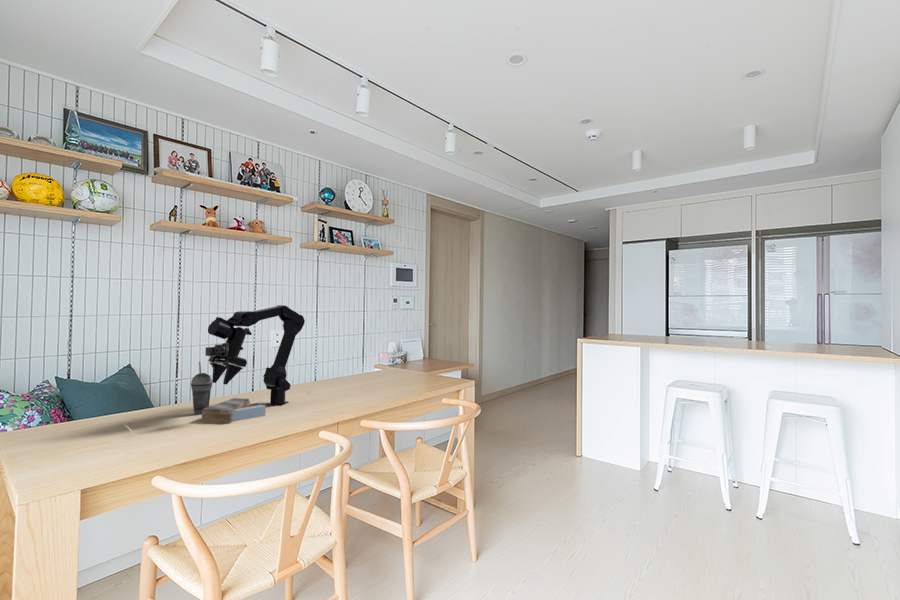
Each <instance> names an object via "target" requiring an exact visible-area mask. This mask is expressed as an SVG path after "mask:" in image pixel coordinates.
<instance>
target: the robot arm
mask: <svg viewBox="0 0 900 600" xmlns="http://www.w3.org/2000/svg"><path fill="white" fill-rule="evenodd" d="M274 317H279V319H280V320H281V321H282V322H283V325H282V327H283V328H282V329H283V335H282V338H281V340H280V341H281V342H280V345H279V347H278V349H277V353H276V356H275V358H274V361H273V364H272V365H271V366H270V367H266V368H265V373H264V375H263V376H262V377H263V383H264V385H265V387H266V390H270V398H269V399H270V400H269V401H270V402H269V403H267V404H266V405H267V406H275V407H282V406H284V405H286V404H288V403H290V402H289V401H286V392H287V391H290V390H291V386H292V384H291V383H290V382H289V381H287V376H288V375H287V370H286V367H287V364H288V360H289V356H290V354H291V351H292V348H293V345H294V342H295V339H296V336H297V335H298V334H299V333H300V332H301V331H302V329H303V327H304V326H305V322H306V319H305V318H304V316H303V315H302V314H300V313H298V312H297V311H295V310H293V309H291V308H289V307H288V306H287V305H285V304H284V305H283V304H280V305H276V306H271V307H267V308H263V309H257V310H252V311H251V310H247V311H246V310H244V311H239V310H238V311H235V312H234V313H233V315H232V316H231V317H229V318H228V319H224V318H222V317H219V316H217V317H216V318H215V319H214V320H212V322H211V323H210V324H209V325H208V328H207V332H208V335H211V336H214V337H217V338H219V339H223V340H225V342H224V343H221V344H214V346H209V347H207V346H206V347H205V357H207V356H208V357H209V358H208V363H209V365H210V366H211V367H212V378H211V379H212V383H213V384H216V383H217V382H218V381H219V379H220V378H221V376H223V374H224V372H225V374H224V378H223V381H222V383H223V385H224V386H225V385H228V384H229V383H230V382H231V381H232V380H233V378H234V377H236V376H237V374H238V373H239V372H241V370H243V369H244V368H246V366H247V364H248V360H247V359H246V358H243V357H240V356H239V355H240V352H241V351H243V350H244V347H243V343H244V341H245V339H246V336H252V334H253V333H252V332H251V331H250V328H249V327H251V326H254V325H255V324H257V323H258V322H260V321H263V320H268V319H272V318H274ZM243 327H245V328H243Z"/></svg>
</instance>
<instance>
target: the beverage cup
mask: <svg viewBox="0 0 900 600" xmlns="http://www.w3.org/2000/svg"><path fill="white" fill-rule="evenodd" d="M201 364H202V363H201V361H198V368H199V369H198V370H199V371H198V372H199V373H197V374H196V375H194V376H193V377H192V379H191V382H190V387H191V393H192V403H193V405H192V407H193V414H194V415H196V416H199V415H200V416H202V411H203V409H204V408H207V407H210V400H211V399H210V398H211V393H212V391H211V390H212V386H213V384H214V383H213V382H212V379H213V378H212V377H211V376H210V375H209V374H208V373H205V372H202V366H201Z"/></svg>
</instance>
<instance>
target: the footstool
mask: <svg viewBox="0 0 900 600" xmlns="http://www.w3.org/2000/svg"><path fill="white" fill-rule="evenodd" d="M245 407H251V400H250V399H249V398H243V397H242V398H240V397H232V398H230V399H227V400H224V401H222V402H220V403H219V402H218V403H216V404H213V405H209V407H207V408H204V409H203V411H202V415H201V422H202V423H214V424H215V423H217V424H233V421H232V417H233V413H226V411H228V410H233V409H239V408H245Z"/></svg>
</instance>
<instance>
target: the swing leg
mask: <svg viewBox="0 0 900 600" xmlns="http://www.w3.org/2000/svg"><path fill="white" fill-rule="evenodd" d="M226 413H233V417H232V422H236V421H242V420H249V419H253V418H258V417H259V418H260V417H264V416H266V405H264V404H258V405H253V406H252V405H251V406H250V407H245V408H239V409H233V410H228V411H226Z"/></svg>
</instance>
